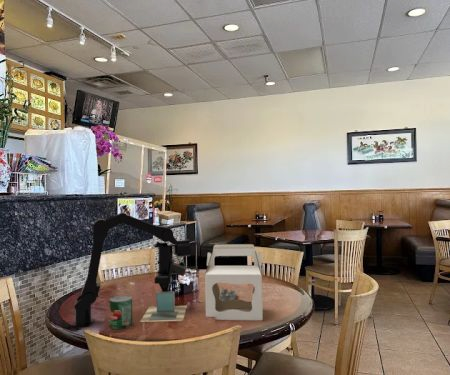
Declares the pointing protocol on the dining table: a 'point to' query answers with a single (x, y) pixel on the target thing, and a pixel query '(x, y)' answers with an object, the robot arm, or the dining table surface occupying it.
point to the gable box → (233, 276)
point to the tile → (165, 301)
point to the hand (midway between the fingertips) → (166, 295)
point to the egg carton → (227, 295)
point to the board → (164, 314)
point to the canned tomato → (121, 312)
